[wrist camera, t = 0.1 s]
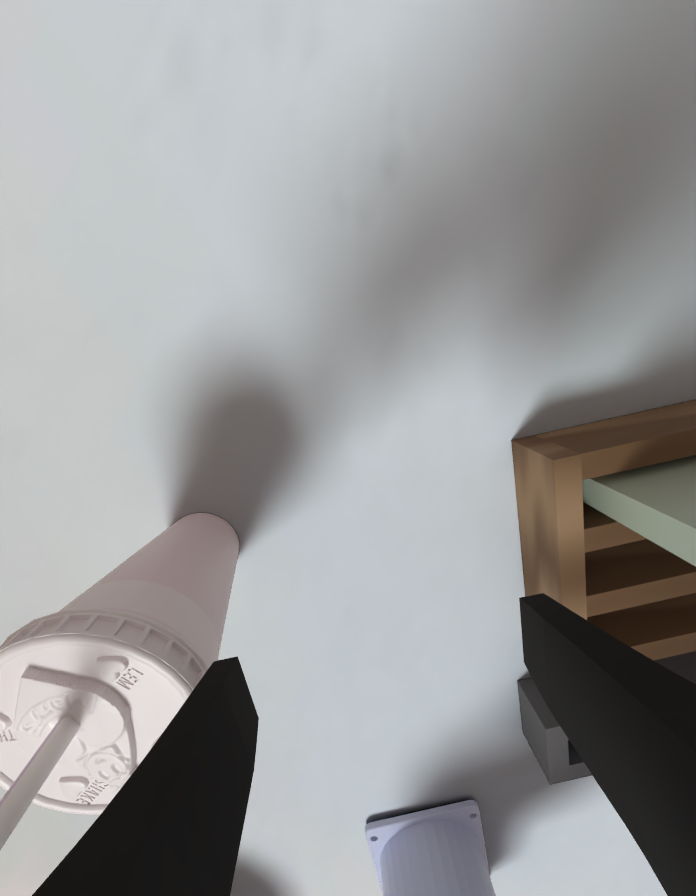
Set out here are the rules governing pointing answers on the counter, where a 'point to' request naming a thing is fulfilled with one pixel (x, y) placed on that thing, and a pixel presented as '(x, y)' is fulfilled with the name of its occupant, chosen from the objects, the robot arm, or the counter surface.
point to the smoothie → (111, 671)
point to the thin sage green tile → (652, 503)
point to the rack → (606, 530)
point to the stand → (551, 739)
